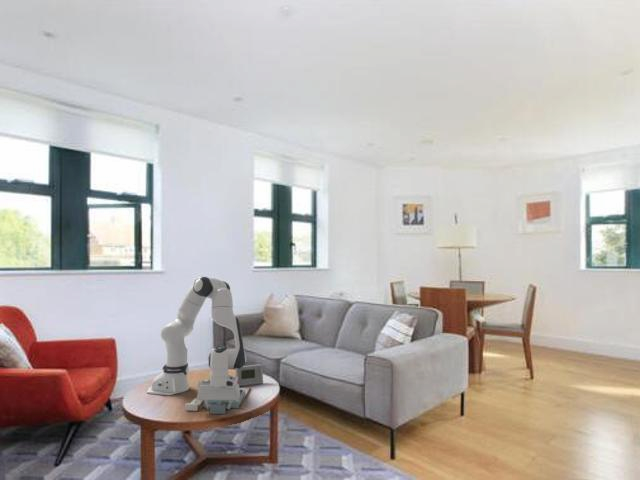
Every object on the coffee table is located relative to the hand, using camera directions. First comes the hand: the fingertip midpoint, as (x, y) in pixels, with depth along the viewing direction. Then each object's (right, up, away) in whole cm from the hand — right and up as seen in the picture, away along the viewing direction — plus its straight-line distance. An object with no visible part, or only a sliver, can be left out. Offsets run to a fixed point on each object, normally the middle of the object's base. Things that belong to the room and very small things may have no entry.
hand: (218, 408), depth 183 cm
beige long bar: (-14, -2, +15) cm, 20 cm away
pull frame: (0, -2, +10) cm, 10 cm away
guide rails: (0, -2, +17) cm, 18 cm away
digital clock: (+7, -4, +40) cm, 41 cm away
